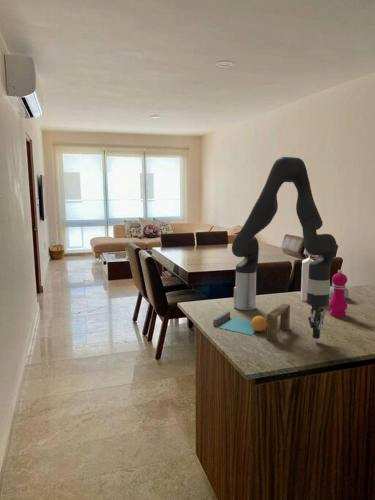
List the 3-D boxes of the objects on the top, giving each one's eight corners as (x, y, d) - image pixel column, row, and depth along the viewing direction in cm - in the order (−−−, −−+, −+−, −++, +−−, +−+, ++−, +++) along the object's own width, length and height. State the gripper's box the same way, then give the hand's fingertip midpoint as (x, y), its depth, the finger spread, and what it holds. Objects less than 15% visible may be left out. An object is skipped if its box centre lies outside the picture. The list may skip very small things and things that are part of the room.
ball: (263, 335, 141) (248, 331, 144) (269, 329, 145) (254, 326, 149) (263, 320, 139) (248, 317, 143) (269, 315, 144) (255, 312, 147)
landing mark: (218, 327, 148) (218, 327, 148) (235, 317, 160) (235, 317, 160) (251, 335, 140) (251, 334, 140) (266, 324, 152) (266, 323, 152)
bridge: (266, 339, 136) (267, 314, 135) (281, 326, 148) (282, 303, 147) (274, 341, 135) (275, 315, 133) (289, 328, 147) (290, 304, 145)
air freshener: (327, 295, 192) (328, 276, 190) (344, 295, 190) (345, 276, 189) (331, 301, 181) (332, 281, 180) (349, 302, 180) (350, 281, 178)
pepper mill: (325, 312, 165) (328, 268, 161) (341, 312, 165) (344, 267, 162) (333, 318, 158) (336, 271, 154) (350, 317, 158) (352, 271, 155)
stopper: (213, 325, 151) (213, 319, 150) (227, 317, 160) (227, 311, 160) (215, 326, 150) (215, 320, 150) (230, 317, 160) (230, 312, 159)
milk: (301, 301, 182) (302, 256, 179) (300, 297, 188) (302, 254, 185) (314, 301, 181) (316, 256, 177) (313, 298, 187) (315, 254, 183)
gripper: (313, 285, 138) (311, 330, 141) (301, 293, 127) (299, 342, 130) (334, 288, 134) (331, 334, 137) (324, 297, 123) (321, 346, 126)
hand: (316, 337), depth 133 cm, fingers closed
